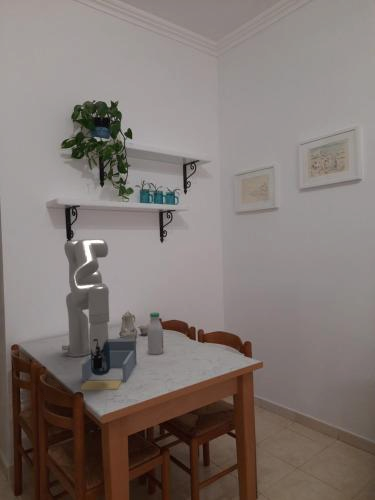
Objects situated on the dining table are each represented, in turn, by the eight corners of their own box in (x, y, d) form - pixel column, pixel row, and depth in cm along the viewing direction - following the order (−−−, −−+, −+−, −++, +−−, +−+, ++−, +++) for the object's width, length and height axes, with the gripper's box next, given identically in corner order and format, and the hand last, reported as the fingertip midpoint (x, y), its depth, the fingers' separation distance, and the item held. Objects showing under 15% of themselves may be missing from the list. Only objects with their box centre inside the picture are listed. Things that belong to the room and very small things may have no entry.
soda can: (100, 368, 140) (99, 338, 140) (114, 371, 137) (113, 340, 137) (87, 374, 134) (86, 342, 134) (101, 377, 131) (100, 344, 131)
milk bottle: (161, 355, 175) (159, 314, 174) (146, 354, 176) (144, 314, 176) (165, 350, 182) (164, 311, 182) (150, 350, 184) (149, 311, 183)
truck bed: (82, 384, 140) (81, 354, 140) (98, 365, 162) (98, 339, 162) (126, 384, 139) (125, 353, 139) (136, 364, 162) (135, 338, 161)
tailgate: (87, 383, 141) (80, 392, 133) (87, 379, 141) (80, 388, 133) (122, 382, 141) (117, 391, 132) (122, 379, 141) (117, 388, 132)
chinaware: (133, 348, 192) (135, 318, 192) (106, 343, 198) (108, 314, 197) (155, 335, 219) (156, 309, 218) (130, 331, 224) (132, 305, 223)
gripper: (96, 314, 144) (97, 357, 144) (81, 323, 127) (83, 373, 127) (114, 313, 144) (115, 357, 144) (102, 323, 127) (104, 373, 127)
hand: (100, 364), depth 136 cm, fingers closed on soda can, 6 cm apart
